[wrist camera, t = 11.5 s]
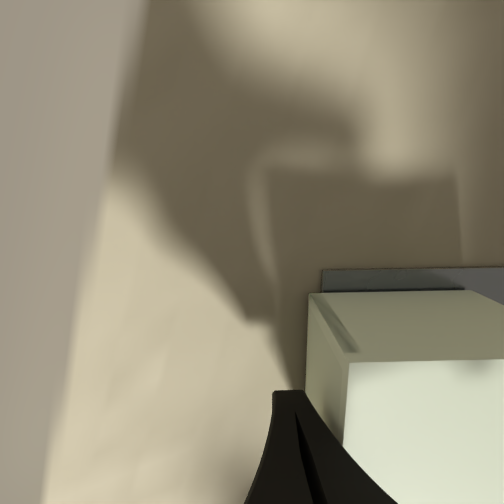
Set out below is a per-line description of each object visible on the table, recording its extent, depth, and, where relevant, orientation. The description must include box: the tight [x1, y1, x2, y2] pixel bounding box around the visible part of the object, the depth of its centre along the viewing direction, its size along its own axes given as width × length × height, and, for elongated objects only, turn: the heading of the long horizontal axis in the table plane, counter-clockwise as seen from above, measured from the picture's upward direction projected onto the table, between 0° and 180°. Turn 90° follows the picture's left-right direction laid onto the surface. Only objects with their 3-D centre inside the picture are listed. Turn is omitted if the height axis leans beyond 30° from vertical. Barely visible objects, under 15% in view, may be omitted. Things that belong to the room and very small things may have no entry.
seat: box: [321, 267, 504, 305], centre depth 13 cm, size 10×10×3 cm
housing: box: [305, 290, 504, 504], centre depth 12 cm, size 8×8×6 cm
